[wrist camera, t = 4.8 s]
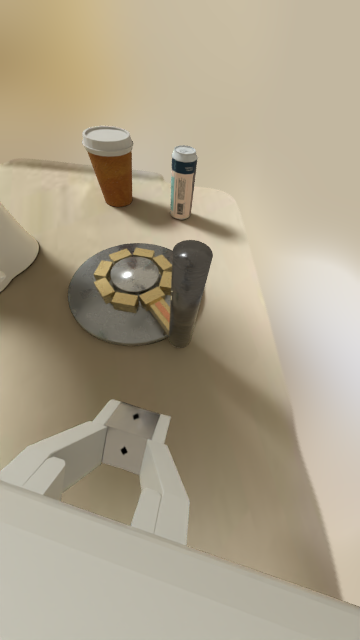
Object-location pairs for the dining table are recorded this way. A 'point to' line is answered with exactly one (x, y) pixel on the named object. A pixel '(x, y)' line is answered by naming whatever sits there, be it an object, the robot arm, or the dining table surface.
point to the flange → (125, 278)
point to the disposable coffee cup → (111, 162)
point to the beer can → (182, 181)
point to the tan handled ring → (164, 287)
